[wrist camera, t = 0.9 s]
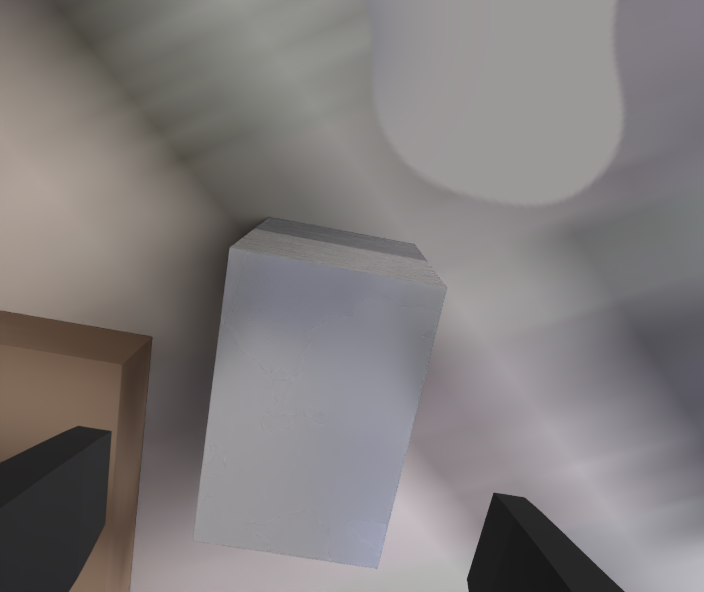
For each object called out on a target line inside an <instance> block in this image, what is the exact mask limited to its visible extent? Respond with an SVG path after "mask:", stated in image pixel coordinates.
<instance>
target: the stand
mask: <svg viewBox="0 0 704 592" xmlns="http://www.w3.org/2000/svg"><path fill="white" fill-rule="evenodd" d="M151 346H152V337H150V336H144V335H138V334H133V333H127V332H121V331H115V330H109V329H104V328H98V327H92V326H86V325H80V324H75V323H69V322H63V321H57V320H51V319H46V318H40V317H34V316H28V315H22V314H17V313H11V312H5V311H0V462H2V461H5V460H7V459H9V458H11V457H13V456H15V455H17V454H19V453H21V452H23V451H25V450H27V449H29V448H31V447H33V446H35V445H37V444H39V443H41V442H43V441H45V440H47V439H50V438H52V437H54V436H56V435H58V434H60V433H62V432H64V431H67V430H69V429H71V428H74V427H76V426H83V427H90V428H96V429H102V430H108V431H112V435H111V450H110V464H109V478H108V493H107V507H106V521H105V526H104V528H103V530H102V532H101V534H100V536H99V538H98V540H97V542H96V544H95V546H94V548H93V550H92V552H91V554H90V556H89V558H88V560H87V561H86V563H85V565H84V567H83V569H82V571H81V573H80V575H79V576H78V578H77V580H76V582H75V583H74V585H73V586H72V588H71V589H70V591H69V592H129V591H130V580H131V569H132V558H133V547H134V535H135V524H136V513H137V502H138V491H139V480H140V468H141V457H142V446H143V435H144V424H145V413H146V402H147V390H148V379H149V368H150V357H151Z"/></svg>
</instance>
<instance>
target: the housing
mask: <svg viewBox="0 0 704 592" xmlns="http://www.w3.org/2000/svg"><path fill="white" fill-rule="evenodd" d="M446 290H447V287H446V285H445V284H444V283H443V281H442V280H441V279H440V277H439V276H438V275H437V273H436V272H435V271H434V269H433V268H432V267H431V265H430V264H429V263H428V261H427V260H426V259H425V257H424V256H423V255H422V253H421V252H420V251H419V249H418V248H417V247H416V245H415V244H411V243H406V242H401V241H395V240H390V239H385V238H379V237H374V236H369V235H363V234H358V233H353V232H348V231H342V230H337V229H332V228H326V227H321V226H316V225H310V224H305V223H300V222H294V221H289V220H284V219H279V218H273V217H269V218H268V219H266V220H265V221H264V222H262V223H261V224H260V225H258V226H257V227H256V228H254V229H253V230H252V231H251V232H249V233H248V234H247V235H245V236H244V237H243V238H241V239H240V240H239V241H238V242H236V243H235V244H234V245H232V246H231V247H230V249H229V257H228V265H227V273H226V280H225V288H224V296H223V304H222V312H221V320H220V328H219V336H218V344H217V352H216V360H215V367H214V375H213V383H212V391H211V399H210V407H209V415H208V423H207V431H206V439H205V447H204V454H203V462H202V470H201V478H200V486H199V494H198V502H197V510H196V518H195V526H194V534H193V541H197V542H203V543H210V544H216V545H223V546H230V547H236V548H243V549H249V550H256V551H263V552H269V553H276V554H283V555H289V556H296V557H302V558H309V559H316V560H322V561H329V562H335V563H342V564H349V565H355V566H362V567H369V568H375V569H377V568H378V564H379V560H380V556H381V552H382V548H383V544H384V540H385V536H386V532H387V528H388V524H389V520H390V516H391V512H392V508H393V504H394V500H395V496H396V492H397V488H398V484H399V480H400V476H401V471H402V467H403V463H404V459H405V455H406V451H407V447H408V443H409V439H410V435H411V431H412V427H413V423H414V419H415V415H416V411H417V407H418V403H419V399H420V395H421V391H422V387H423V383H424V379H425V375H426V371H427V367H428V363H429V359H430V355H431V351H432V347H433V342H434V338H435V334H436V330H437V326H438V322H439V318H440V314H441V310H442V306H443V302H444V298H445V294H446Z"/></svg>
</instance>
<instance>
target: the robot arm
mask: <svg viewBox="0 0 704 592" xmlns="http://www.w3.org/2000/svg"><path fill="white" fill-rule="evenodd" d="M111 435H112V431H108V430H102V429H96V428H90V427H83V426H76V427H74V428H71V429H69V430H67V431H64V432H62V433H60V434H58V435H56V436H54V437H52V438H50V439H47V440H45V441H43V442H41V443H39V444H37V445H35V446H33V447H31V448H29V449H27V450H25V451H23V452H21V453H19V454H17V455H15V456H13V457H11V458H9V459H7V460H5V461H2V462H0V592H69V591H70V589H71V588H72V586H73V585H74V583H75V582H76V580H77V578H78V576H79V575H80V573H81V571H82V569H83V567H84V565H85V563H86V561H87V560H88V558H89V556H90V554H91V552H92V550H93V548H94V546H95V544H96V542H97V540H98V538H99V536H100V534H101V532H102V530H103V528H104V526H105V521H106V507H107V493H108V478H109V464H110V450H111ZM467 582H468V589H469V592H624V591H623V590H622V589H621V588H620V587H619V586H618V585H617V584H616V583H615V582H614V581H613V580H612V579H611V578H609V577H608V576H607V575H606V574H605V573H604V572H603V571H602V570H601V569H600V568H599V567H598V566H597V565H596V564H595V563H594V562H593V561H592V560H591V559H590V558H589V557H587V556H586V555H585V554H584V553H583V552H582V551H581V550H580V549H579V548H578V547H577V546H576V545H575V544H574V543H573V542H572V541H571V540H570V539H569V538H568V537H567V536H566V535H565V534H564V533H563V532H562V531H561V530H560V529H559V528H558V527H557V526H555V525H554V524H553V523H552V522H551V521H550V520H549V519H548V518H547V517H546V516H545V515H544V514H543V513H542V512H541V511H540V510H539V509H537V508H536V507H535V506H534V505H533V504H532V503H531V502H529V501H528V500H527V499H526V498H524V497H518V496H512V495H506V494H499V493H493V497H492V500H491V503H490V506H489V510H488V513H487V516H486V519H485V523H484V526H483V529H482V532H481V536H480V539H479V542H478V545H477V548H476V552H475V555H474V558H473V561H472V565H471V568H470V571H469V574H468V578H467Z"/></svg>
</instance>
